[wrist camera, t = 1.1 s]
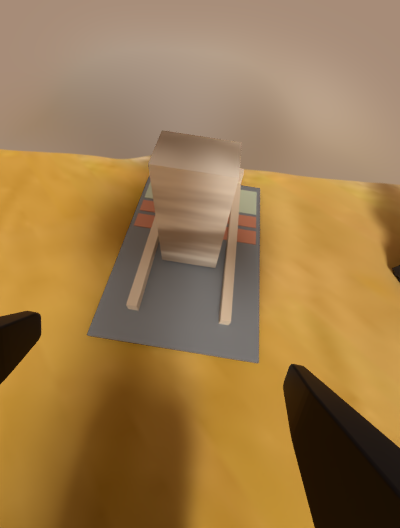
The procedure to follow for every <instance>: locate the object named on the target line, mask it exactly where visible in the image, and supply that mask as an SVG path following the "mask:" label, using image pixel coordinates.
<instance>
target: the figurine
mask: <svg viewBox="0 0 400 528" xmlns="http://www.w3.org/2000/svg"><path fill="white" fill-rule="evenodd" d="M392 269H393V270H394V275H395V276H397V277H399V279H398V280H399V282H400V265H399V266H397V267H394V268H392Z"/></svg>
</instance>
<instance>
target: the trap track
mask: <svg viewBox="0 0 400 528" xmlns="http://www.w3.org/2000/svg"><path fill="white" fill-rule="evenodd" d="M243 174H244V169H240V172H239V180H238V184H237V188H236V191H235V195H234V199H233V203H232V207H231V211H230V214H229V218H228V222H227V226H226V230H225V234H224V237H223V241H222V245H221V249H220V253H219V256H218V260H217V264H216V268H211V267H205V266H199V265H192V264H186V263H180V262H173V261H167V260H162V256H161V249H160V242H159V235H158V228H157V222H156V215H155V208H154V201H153V194H152V187H151V181H150V175H149V178H148V180H147V183H146V185H145V188H144V191H143V193H142V196H141V198H140V201H139V203H138V206H137V208H136V211H135V213H134V216H133V219H132V221H131V224H130V226H129V229H128V231H127V234H126V236H125V239H124V241H123V244H122V247H121V249H120V252H119V254H118V257H117V259H116V262H115V264H114V267H113V270H112V272H111V275H110V277H109V280H108V282H107V285H106V287H105V290H104V292H103V295H102V298H101V300H100V303H99V305H98V308H97V310H96V313H95V315H94V318H93V320H92V323H91V326H90V328H89V331H88V333H87V335H88V336H93V337H99V338H106V339H112V340H118V341H124V342H130V343H136V344H142V345H149V346H155V347H161V348H167V349H173V350H179V351H185V352H192V353H198V354H204V355H210V356H216V357H222V358H228V359H235V360H241V361H247V362H253V363H259V256H260V188H254V187H248V186H241V181H242V178H243Z"/></svg>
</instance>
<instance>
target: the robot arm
mask: <svg viewBox="0 0 400 528" xmlns="http://www.w3.org/2000/svg"><path fill="white" fill-rule="evenodd" d="M40 336H41V316H40V314H39V313H36V312H31V311H24V312H19V313H15V314H10V315H6V316H1V317H0V384H1V383H2V382H3V381H4V380H5V379H6V378H7V377H8V375H9V374H10V373H11V372H12V371H13V370H14V369H15V367H16V366H17V365H18V364H19V363H20V361H21V360H22V359H23V358H24V357H25V356H26V354H27V353H28V352H29V351H30V350H31V348H32V347H33V346H34V345H35V344H36V342H37V341H38V340H39V338H40ZM283 391H284V397H285V403H286V409H287V415H288V421H289V427H290V433H291V438H292V443H293V447H294V451H295V454H296V458H297V462H298V466H299V470H300V473H301V477H302V481H303V485H304V488H305V492H306V496H307V500H308V504H309V507H310V511H311V515H312V519H313V523H314V526H315V528H400V448H399V447H398V446H397V445H395V444H394V443H393V442H392V441H391V440H390V439H388V438H387V437H386V436H385V435H384V434H383V433H381V432H380V431H379V430H378V429H377V428H376V427H374V426H373V425H372V424H371V423H370V422H369V421H367V420H366V419H365V418H364V417H363V416H361V415H360V414H359V413H358V412H357V411H356V410H354V409H353V408H352V407H351V406H350V405H349V404H347V403H346V402H345V401H344V400H343V399H342V398H340V397H339V396H338V395H337V394H336V393H335V392H333V391H332V390H331V389H330V388H329V387H327V386H326V385H325V384H324V383H323V382H322V381H320V380H319V379H318V378H317V377H316V376H315V375H313V374H312V373H311V372H310V371H309V370H308V369H306V368H305V367H304V366H301V365H296V364H291V365H290V366H289V369H288V372H287V375H286V378H285V381H284V384H283Z"/></svg>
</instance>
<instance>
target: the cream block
mask: <svg viewBox="0 0 400 528" xmlns="http://www.w3.org/2000/svg"><path fill="white" fill-rule="evenodd" d="M241 147H242V143H241V142H235V141H228V140H221V139H215V138H208V137H202V136H195V135H189V134H181V133H174V132H169V131H162V132H161V134H160V136H159V139H158V141H157V144H156V146H155V149H154V151H153V154H152V156H151V158H150V161H149V163H148V167H149V174H150V181H151V187H152V194H153V201H154V208H155V215H156V222H157V228H158V235H159V242H160V249H161V256H162V260H167V261H173V262H180V263H186V264H192V265H199V266H205V267H211V268H216V264H217V260H218V256H219V253H220V249H221V245H222V241H223V237H224V234H225V230H226V226H227V222H228V218H229V214H230V211H231V207H232V203H233V199H234V195H235V191H236V188H237V184H238V180H239V172H240V159H241Z"/></svg>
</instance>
